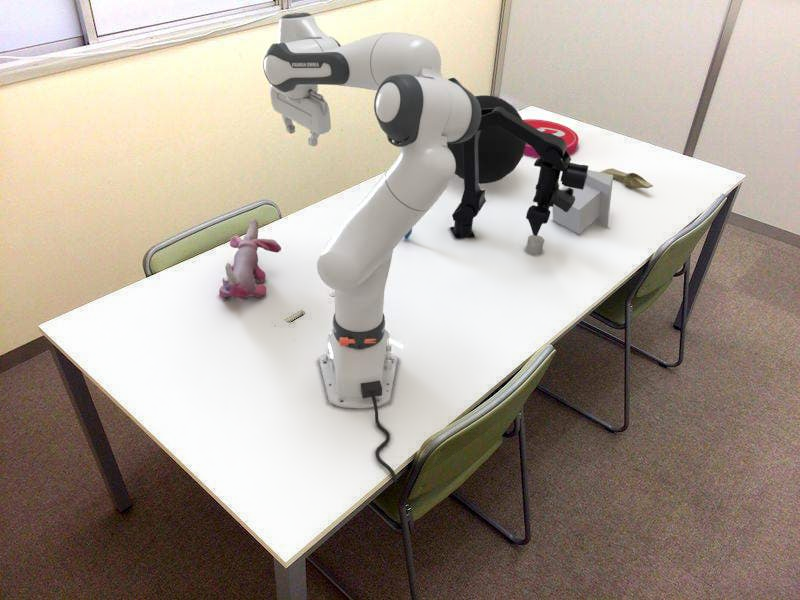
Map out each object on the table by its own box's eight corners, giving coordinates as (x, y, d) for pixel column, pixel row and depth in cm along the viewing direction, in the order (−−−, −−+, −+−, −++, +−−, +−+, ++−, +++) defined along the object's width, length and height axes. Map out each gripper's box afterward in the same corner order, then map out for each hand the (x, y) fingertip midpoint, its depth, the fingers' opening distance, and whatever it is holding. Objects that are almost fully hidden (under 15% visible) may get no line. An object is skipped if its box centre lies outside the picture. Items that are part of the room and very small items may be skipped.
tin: (525, 245, 205) (527, 234, 202) (540, 247, 205) (543, 235, 202) (526, 254, 201) (528, 242, 198) (542, 255, 201) (545, 244, 198)
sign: (543, 165, 250) (591, 146, 266) (545, 156, 248) (593, 138, 264) (487, 137, 268) (535, 121, 284) (488, 129, 266) (537, 114, 282)
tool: (597, 174, 249) (599, 163, 246) (610, 171, 251) (612, 160, 248) (638, 197, 232) (641, 185, 229) (652, 193, 234) (655, 182, 231)
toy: (299, 270, 187) (288, 223, 179) (243, 315, 171) (228, 266, 163) (250, 258, 196) (238, 213, 188) (193, 300, 180) (176, 253, 172)
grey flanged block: (632, 205, 220) (636, 162, 206) (586, 246, 212) (587, 205, 199) (592, 185, 229) (593, 144, 216) (546, 224, 222) (544, 183, 209)
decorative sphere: (427, 189, 230) (433, 106, 212) (447, 155, 253) (455, 77, 235) (511, 205, 224) (526, 121, 206) (524, 168, 247) (539, 90, 229)
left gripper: (336, 94, 153) (337, 149, 161) (285, 70, 164) (288, 122, 172) (315, 100, 149) (316, 156, 158) (264, 74, 160) (268, 128, 169)
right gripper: (570, 202, 179) (559, 249, 188) (581, 174, 193) (570, 219, 202) (530, 193, 182) (521, 240, 191) (544, 166, 196) (535, 211, 205)
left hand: (301, 138), depth 165 cm, fingers open, 8 cm apart
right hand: (538, 227), depth 198 cm, fingers open, 9 cm apart
